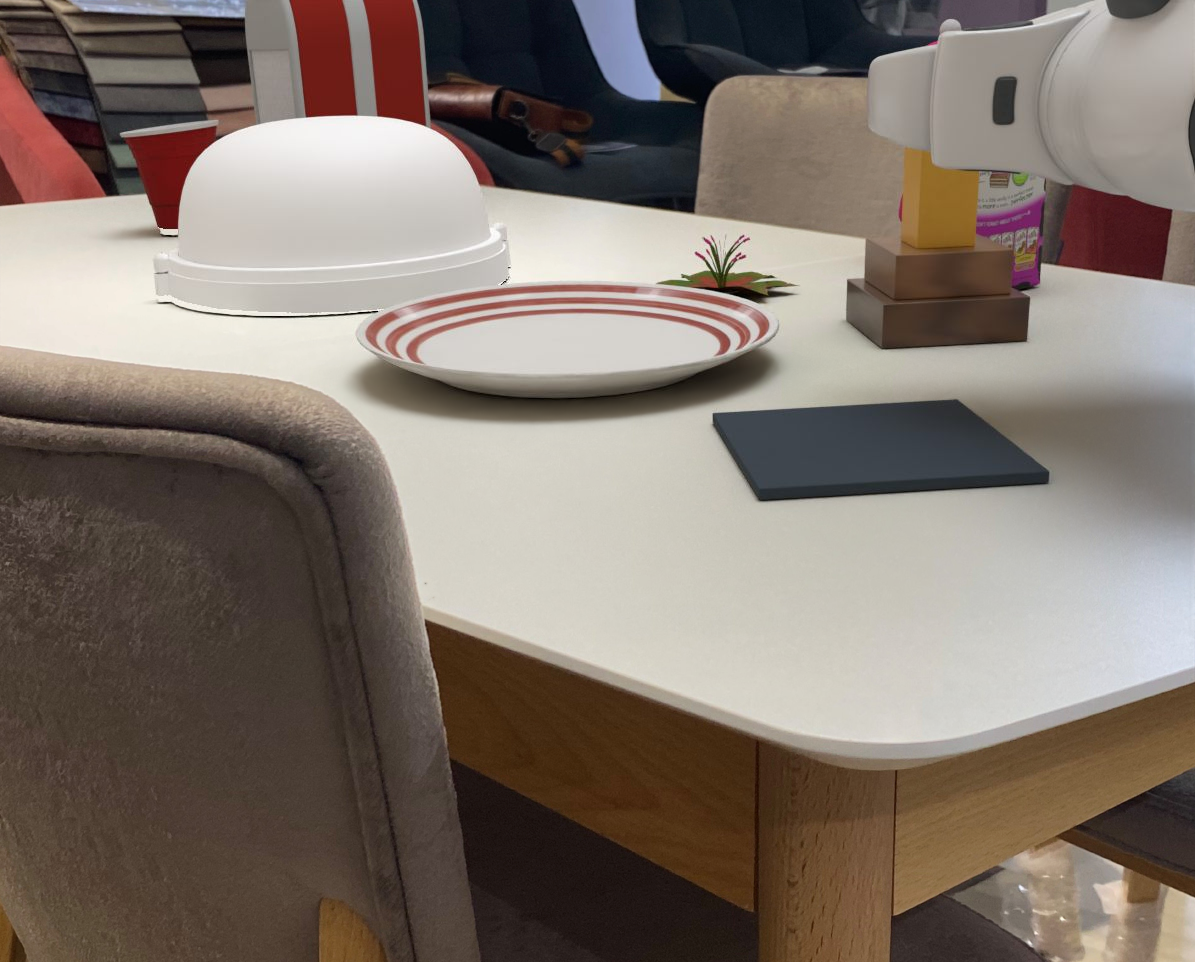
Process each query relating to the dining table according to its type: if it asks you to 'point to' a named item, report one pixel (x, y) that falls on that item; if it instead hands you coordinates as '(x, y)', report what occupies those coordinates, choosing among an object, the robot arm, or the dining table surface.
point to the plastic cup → (168, 162)
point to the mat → (872, 449)
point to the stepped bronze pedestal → (937, 295)
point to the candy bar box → (1014, 220)
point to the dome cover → (330, 219)
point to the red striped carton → (337, 59)
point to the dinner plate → (567, 336)
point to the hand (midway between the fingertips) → (1013, 84)
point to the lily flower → (726, 275)
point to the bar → (937, 203)
